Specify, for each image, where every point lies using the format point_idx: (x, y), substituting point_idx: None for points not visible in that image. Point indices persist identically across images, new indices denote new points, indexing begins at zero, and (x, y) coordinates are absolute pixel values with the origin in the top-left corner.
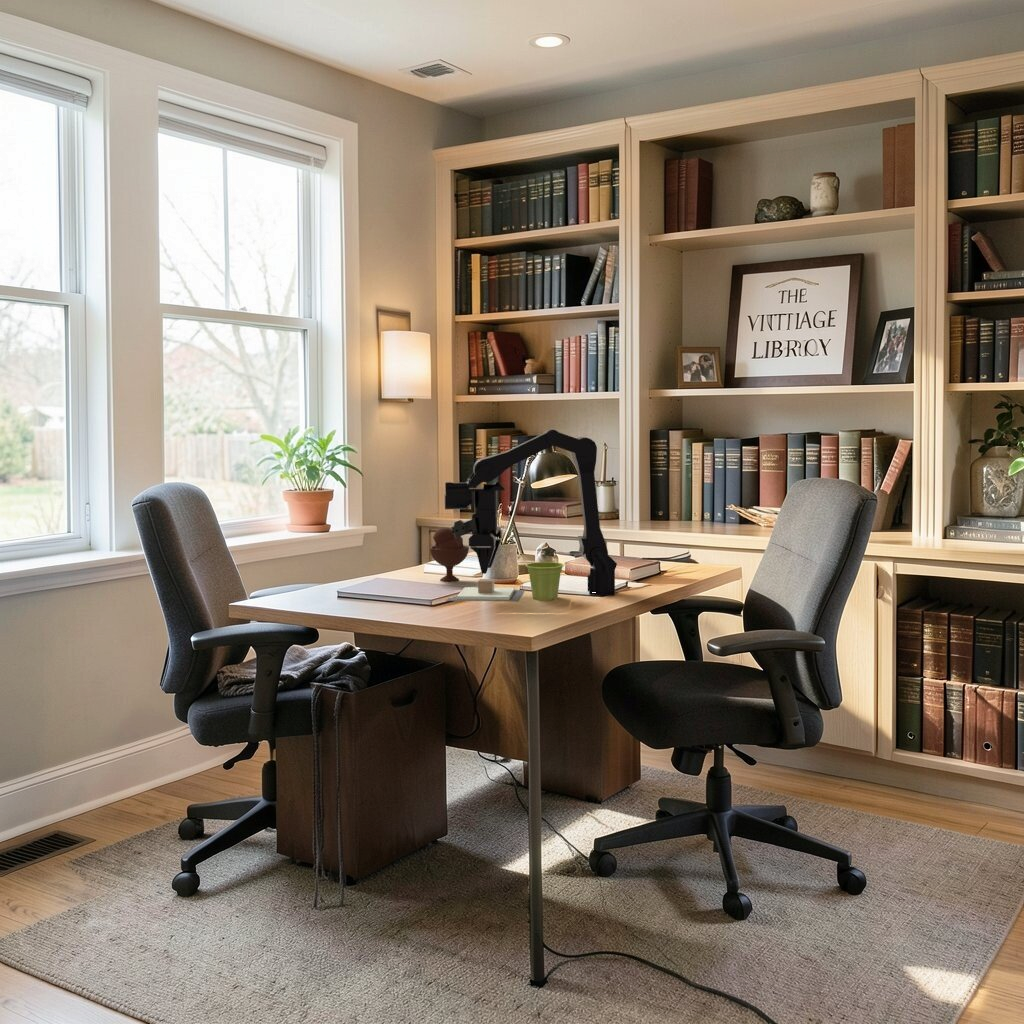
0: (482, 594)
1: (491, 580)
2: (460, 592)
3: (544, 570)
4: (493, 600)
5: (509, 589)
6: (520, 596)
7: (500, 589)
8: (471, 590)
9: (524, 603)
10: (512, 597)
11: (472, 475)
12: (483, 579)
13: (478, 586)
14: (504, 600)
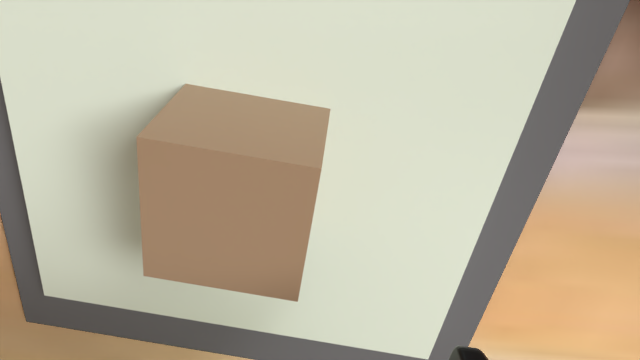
0: (113, 120)
1: (201, 273)
2: None
3: None
4: (13, 184)
5: (358, 325)
6: (199, 346)
7: (368, 272)
8: (346, 17)
9: (15, 337)
10: None
11: None
12: (271, 204)
13: (159, 114)
14: (33, 252)
